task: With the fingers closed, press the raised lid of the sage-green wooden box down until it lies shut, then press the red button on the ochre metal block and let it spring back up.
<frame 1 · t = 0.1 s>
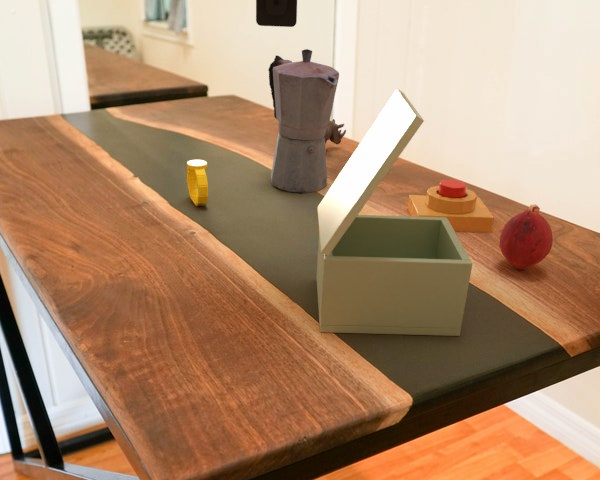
hand: (277, 19, 57), 27 cm above the table, tool pointing down, fingers open, 9 cm apart
onion: (519, 270, 78), on the table
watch: (198, 204, 94), on the table
chest: (383, 305, 69), on the table
button: (452, 189, 89), point 4 cm above the table, slide at 0.1 cm
button block: (447, 220, 91), on the table
chest lid: (363, 169, 62), point 14 cm above the table, hinge at 60.0°
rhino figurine: (317, 153, 119), on the table
moka pot: (295, 184, 103), on the table
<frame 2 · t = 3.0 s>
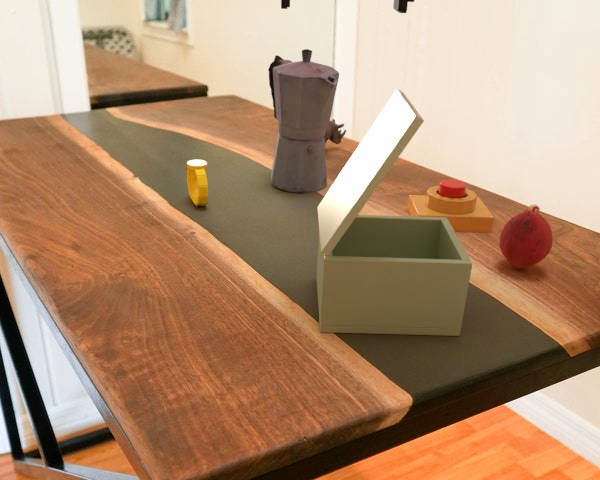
hand: (342, 9, 55), 28 cm above the table, tool pointing down, fingers open, 9 cm apart
nothing on the table moved.
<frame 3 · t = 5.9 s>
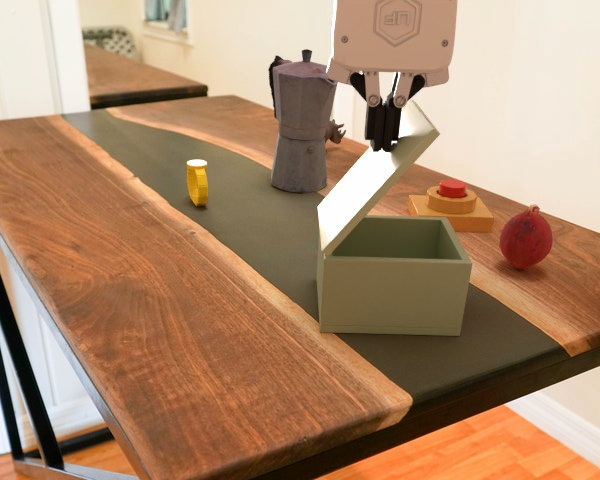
hand: (380, 147, 61), 17 cm above the table, tool pointing down, fingers closed
chest lid: (371, 175, 62), point 14 cm above the table, hinge at 52.7°, touching gripper
everything else where it was.
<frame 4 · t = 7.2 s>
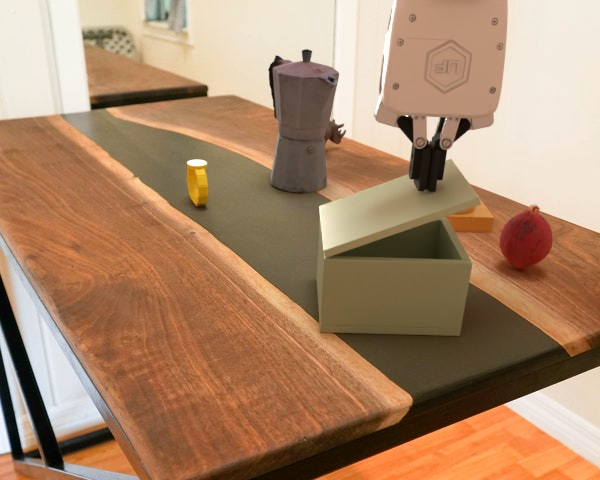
hand: (424, 186, 62), 13 cm above the table, tool pointing down, fingers closed
chest lid: (392, 205, 63), point 11 cm above the table, hinge at 22.7°, touching gripper
everything else where it was.
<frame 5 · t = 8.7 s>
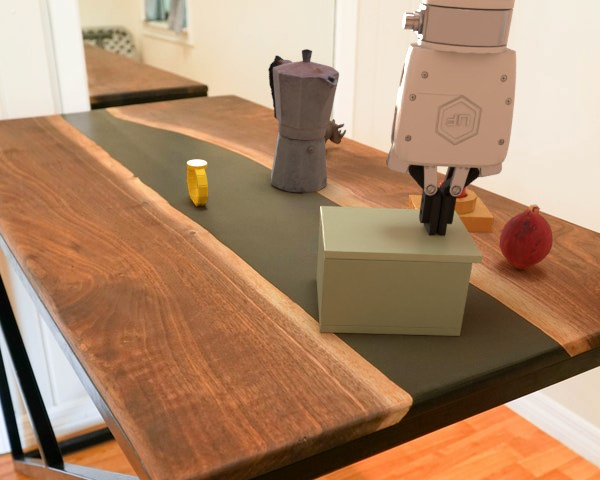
hand: (434, 229, 65), 9 cm above the table, tool pointing down, fingers closed
chest lid: (395, 232, 65), point 8 cm above the table, hinge at -0.2°, touching chest, gripper
everything else where it was.
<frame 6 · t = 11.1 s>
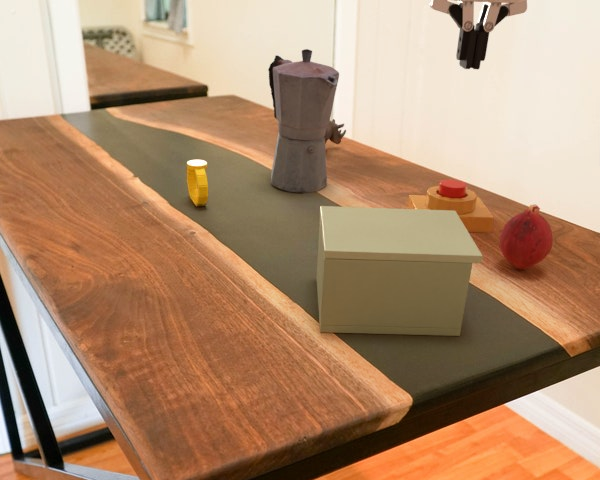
hand: (469, 66, 77), 21 cm above the table, tool pointing down, fingers closed
chest lid: (395, 232, 65), point 8 cm above the table, hinge at -0.2°, touching chest
everything else where it was.
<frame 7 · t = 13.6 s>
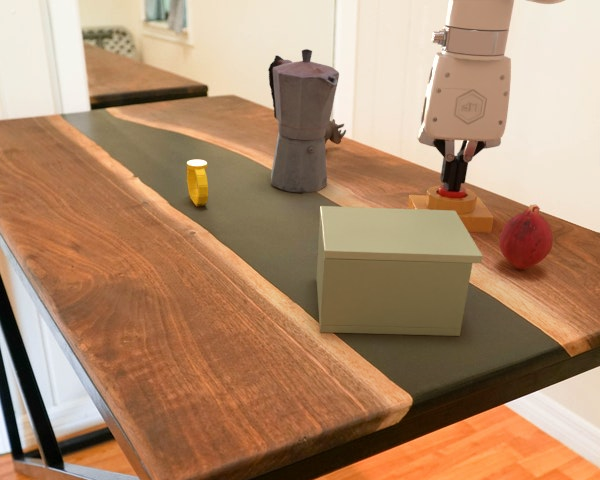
hand: (451, 187, 89), 5 cm above the table, tool pointing down, fingers closed
button: (451, 194, 89), point 4 cm above the table, slide at -0.6 cm, touching gripper
everything else where it was.
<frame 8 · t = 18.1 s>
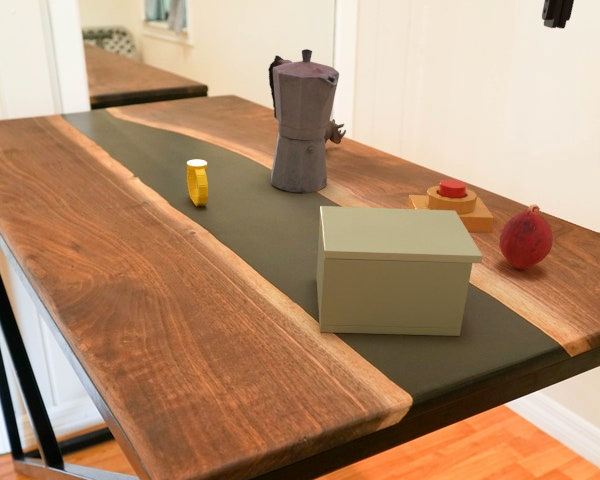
hand: (553, 26, 81), 25 cm above the table, tool pointing down, fingers closed
button: (452, 189, 89), point 4 cm above the table, slide at 0.1 cm
everything else where it was.
at the end: chest lid at +0° (first picture: +60°); button pushed in 1.0 cm at the most during the clip, back to where it started at the end; button slide at 0.1 cm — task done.
